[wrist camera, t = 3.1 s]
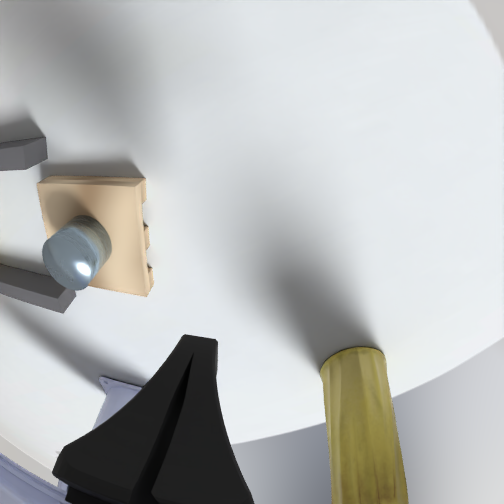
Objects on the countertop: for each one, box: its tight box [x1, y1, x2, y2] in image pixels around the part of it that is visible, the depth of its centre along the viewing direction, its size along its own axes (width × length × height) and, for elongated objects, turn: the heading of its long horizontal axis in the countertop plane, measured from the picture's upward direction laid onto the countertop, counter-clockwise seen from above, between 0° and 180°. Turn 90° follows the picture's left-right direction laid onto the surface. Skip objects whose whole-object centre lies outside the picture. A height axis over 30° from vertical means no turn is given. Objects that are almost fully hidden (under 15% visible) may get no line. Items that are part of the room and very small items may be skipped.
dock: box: [0, 137, 76, 313], centre depth 19 cm, size 13×14×2 cm
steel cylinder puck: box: [42, 215, 112, 290], centre depth 17 cm, size 4×4×3 cm
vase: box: [320, 347, 408, 504], centre depth 19 cm, size 6×6×14 cm
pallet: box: [37, 176, 154, 297], centre depth 19 cm, size 8×8×2 cm
